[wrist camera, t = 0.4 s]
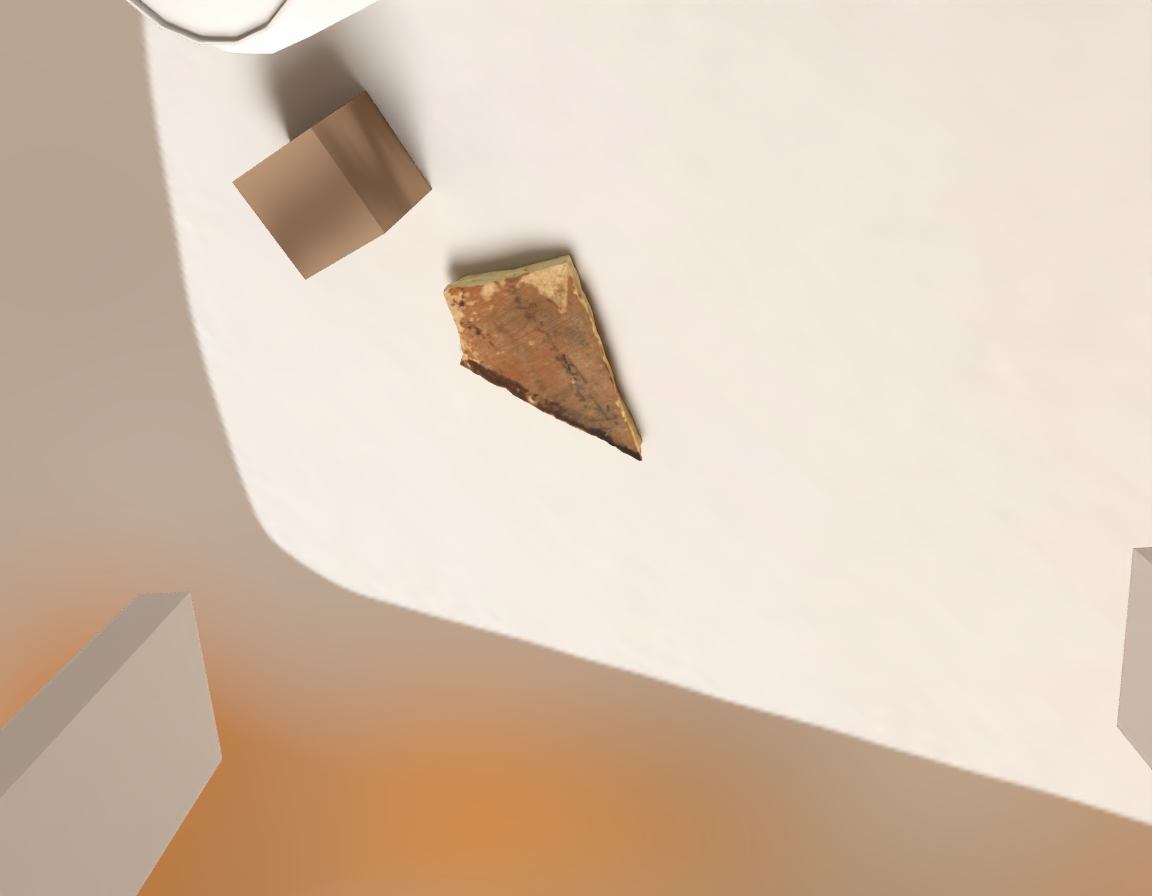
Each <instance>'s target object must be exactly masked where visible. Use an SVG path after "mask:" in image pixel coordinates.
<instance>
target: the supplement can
mask: <svg viewBox="0 0 1152 896" xmlns="http://www.w3.org/2000/svg"><path fill="white" fill-rule="evenodd" d="M126 1H128V2H129V3H130V4H131V5H132V6H134V7H135V8H136V9H137V10H138V11H140V12H141V13H142V14H143V15H145V16H146V17H147V18H148V19H149V20H151V21H152V22H153V23H154V24H155V25H157V26H158V27H159V28H160V29H162V30H164V31H167V32H169V33H172V34H174V35H176V36H179V37H181V38H184V39H186V40H188V41H191V42H193V43H196V44H198V45H213V46H216V47H218V48H220V49H223V50H225V51H228V52H230V53H268V54H272V53H275V52H277V51H279V50H281V49H284V48H286V47H288V46H290V45H292V44H295V43H297V42H299V41H301V40H303V39H306V38H308V37H310V36H312V35H314V34H316V33H318V32H319V31H321V30H323V29H325V28H327V27H329V26H331V25H333V24H335V23H336V22H338V21H340V20H342V19H344V18H346V17H348V16H350V15H352V14H354V13H355V12H357V11H359V10H361V9H363V8H365V7H367V6H369V5H371V4H373V3H374V2H376V1H378V0H126Z"/></svg>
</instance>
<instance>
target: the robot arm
mask: <svg viewBox="0 0 1152 896" xmlns="http://www.w3.org/2000/svg"><path fill="white" fill-rule="evenodd" d="M1117 727H1118V729H1119V730H1120V731H1121V732H1122V733H1123V735H1124V736H1125V737H1126V738H1127V740H1128V741H1129V742H1130V743H1131V745H1132V746H1133V747H1134V748H1135V750H1136V751H1137V752H1138V753H1139V754H1140V756H1141V757H1142V758H1143V759H1144V761H1145V762H1146V763H1147V764H1148V766H1149V767H1150V768H1151V769H1152V547H1148V548H1133V555H1132V566H1131V577H1130V588H1129V599H1128V610H1127V621H1126V632H1125V643H1124V654H1123V665H1122V675H1121V686H1120V697H1119V708H1118V719H1117ZM221 760H222V754H221V749H220V744H219V739H218V734H217V728H216V723H215V718H214V713H213V707H212V702H211V697H210V693H209V687H208V681H207V676H206V671H205V666H204V661H203V656H202V650H201V645H200V640H199V635H198V630H197V624H196V619H195V614H194V609H193V604H192V598H191V593H190V592H174V593H154V594H153V593H152V594H138V595H137V596H136V597H135V598H134V599H133V600H132V601H131V602H130V603H129V604H128V605H127V606H126V607H125V608H124V609H123V610H122V611H121V612H120V613H119V614H118V615H116V616H115V617H114V618H113V619H112V620H111V622H109V623H108V624H107V625H106V626H105V627H104V628H103V629H102V630H101V631H100V632H99V633H98V634H97V635H96V636H95V637H94V638H93V639H92V640H91V641H90V642H89V643H88V644H87V645H86V646H85V647H84V648H83V649H82V650H81V651H80V652H79V653H78V654H77V655H76V656H75V657H74V658H72V659H71V660H70V661H69V662H68V663H67V664H66V665H65V666H64V667H63V668H62V669H61V670H60V671H59V672H58V673H57V674H56V675H55V676H54V677H53V678H52V679H51V680H50V681H49V682H48V683H47V684H46V685H45V686H44V687H43V688H42V689H41V690H40V691H39V692H38V693H37V694H36V695H35V696H34V697H33V698H32V699H31V700H29V701H28V702H27V703H26V705H24V706H23V707H22V708H21V709H20V710H19V711H18V712H17V713H16V714H15V715H14V716H13V717H12V718H11V719H10V720H9V721H8V722H7V723H6V724H5V725H4V726H3V727H2V728H1V729H0V896H136V895H137V894H138V892H139V890H140V889H141V887H142V886H143V884H144V883H145V881H146V879H147V878H148V876H149V875H150V873H151V871H152V870H153V868H154V867H155V865H156V864H157V862H158V860H159V859H160V857H161V856H162V854H163V852H164V851H165V849H166V848H167V846H168V844H169V843H170V841H171V840H172V838H173V836H174V835H175V833H176V832H177V830H178V829H179V827H180V825H181V824H182V822H183V821H184V819H185V817H186V816H187V814H188V812H189V811H190V809H191V808H192V806H193V805H194V803H195V802H196V800H197V798H198V797H199V795H200V793H201V792H202V790H203V789H204V787H205V786H206V784H207V782H208V781H209V779H210V778H211V776H212V774H213V773H214V771H215V770H216V768H217V767H218V765H219V763H220V762H221Z"/></svg>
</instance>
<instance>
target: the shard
mask: <svg viewBox="0 0 1152 896" xmlns="http://www.w3.org/2000/svg"><path fill="white" fill-rule="evenodd" d="M444 296H445V299H446V302H447V305H448V307H449V309H450V311H451V314H452V316H453V318H454V321H455V323H456V325H457V329H458V333H459V335H460V343H461V346H462V351H463V357H462V359H461V362H460V365H462V366H464V367H465V368H467V369H470V370H471V371H472V372H473V373H475V374H477V375H480V376H481V377H483V378H484V379H485V380H487V381H488V382H490V383H492V384H494V385H496V386H499V387H502V388H506V389H507V390H508V391H510V392H511V393H512V394H513V395H514V396H516V397H518V398H520V399H522V400H523V401H525V402H528V403H530V404H531V405H533V406H534V407H536V408H538V409H539V410H541V411H543V412H545V413H547V414H549V415H551V416H554V417H555V418H556V419H559V420H561V421H563V422H565V423H567V424H569V425H570V426H573V427H575V428H578V429H580V430H582V431H584V432H586V433H588V434H590V435H593V436H596V437H598V438H600V439H602V440H604V441H606V442H608V443H609V444H610V445H612V446H615V447H616V448H617V449H619V450H620V451H622V452H623V453H626V454H628V455H630V456H632V457H634V458H635V459H637V460H639V461H642V456H641V447H640V445H641V443H642V440H641V437H640V435H639V434H638V432H637V429H636V426H635V424H634V422H633V419H632V417H631V415H630V413H629V411H628V409H627V407H626V405H625V404H624V402H623V400H622V397H621V396H620V394H619V392H618V390H617V387H616V385H615V383H614V374H613V372H612V369H611V367H610V364H609V362H608V360H607V358H606V356H605V352H604V349H603V344H602V342H601V339H600V336H599V335H598V333H597V330H596V327H595V322H594V319H593V313H592V309H591V307H590V305H589V303H588V301H587V299H586V296H585V294H584V292H583V291H582V289H581V285H580V280H579V276H578V273H577V270H576V269H575V267H574V266H573V262H572V260H571V258H570V255H565V256H561V257H558V258H555V259H551V260H547V261H543V262H538V263H534V264H531V265H528V266H524V267H520V268H517V269H514V270H502V271H492V272H487V273H482V274H475V275H467V276H465V277H463V278H460V279H459V280H458V281H456V282H454V283H452V284H449V285H447V286H446V288H445V289H444Z"/></svg>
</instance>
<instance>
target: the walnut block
mask: <svg viewBox="0 0 1152 896" xmlns="http://www.w3.org/2000/svg"><path fill="white" fill-rule="evenodd" d="M232 183H233V184H234V185H235V187H236V188H237V189H238V191H239V192H240V193H241V195H242V196H243V197H244V199H245V200H246V201H247V203H248V204H249V205H250V207H251V208H252V209H253V211H254V212H255V213H256V215H257V216H258V217H259V219H260V220H261V221H262V223H263V224H264V225H265V227H266V228H267V229H268V231H269V232H270V233H271V235H272V236H273V237H274V239H275V240H276V241H277V243H278V244H279V245H280V247H281V248H282V249H283V251H284V252H285V253H286V255H287V256H288V257H289V259H290V260H291V261H292V263H293V264H294V265H295V267H296V268H297V269H298V271H299V272H300V273H301V275H302V276H303V277H304V279H305V280H306V279H307V278H309V277H311V276H313V275H314V274H316V273H318V272H319V271H321V270H323V269H324V268H326V267H328V266H330V265H331V264H333V263H335V262H336V261H338V260H340V259H342V258H343V257H345V256H347V255H348V254H350V253H352V252H354V251H355V250H357V249H359V248H360V247H362V246H364V245H366V244H367V243H369V242H371V241H372V240H374V239H376V238H378V237H379V236H381V235H383V234H384V233H386V232H387V231H388V230H389V229H390V228H391V227H392V226H393V225H394V224H395V223H396V222H397V221H399V220H400V219H401V218H402V217H403V216H404V215H405V214H406V213H407V212H408V211H409V210H410V209H411V208H412V207H414V206H415V205H416V204H417V203H418V202H419V201H420V200H421V199H422V198H423V197H424V196H425V195H426V194H428V193H429V192H430V191H431V190H432V188H431V187H430V185H429V184H428V182H427V181H426V179H425V178H424V176H423V175H422V173H421V172H420V170H419V169H418V167H417V166H416V165H415V163H414V162H413V160H412V159H411V157H410V156H409V154H408V153H407V151H406V150H405V148H404V147H403V145H402V144H401V142H400V141H399V139H398V138H397V136H396V135H395V133H394V132H393V130H392V129H391V127H390V126H389V124H388V123H387V121H386V120H385V118H384V117H383V115H382V114H381V112H380V111H379V109H378V108H377V106H376V105H375V103H374V102H373V100H372V99H371V98H370V96H369V95H368V93H367V92H366V91H365V92H363V93H362V94H360V95H359V96H357V97H356V98H354V99H353V100H351V101H350V102H348V103H347V104H345V105H344V106H342V107H341V108H339V109H338V110H336V111H335V112H333V113H332V114H330V115H329V116H327V117H326V118H324V119H323V120H321V121H320V122H318V123H317V124H315V125H314V126H312V127H311V128H309V129H308V130H307V131H305V132H304V133H302V134H301V135H299V136H298V137H297V138H295V139H294V140H292V141H291V142H289V143H288V144H286V145H285V146H284V147H282V148H281V149H279V150H278V151H276V152H275V153H274V154H272V155H271V156H269V157H268V158H266V159H265V160H263V161H262V162H261V163H259V164H258V165H256V166H255V167H253V168H252V169H250V170H249V171H248V172H246V173H245V174H243V175H242V176H240V177H239V178H238V179H236V180H235V181H233V182H232Z"/></svg>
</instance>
